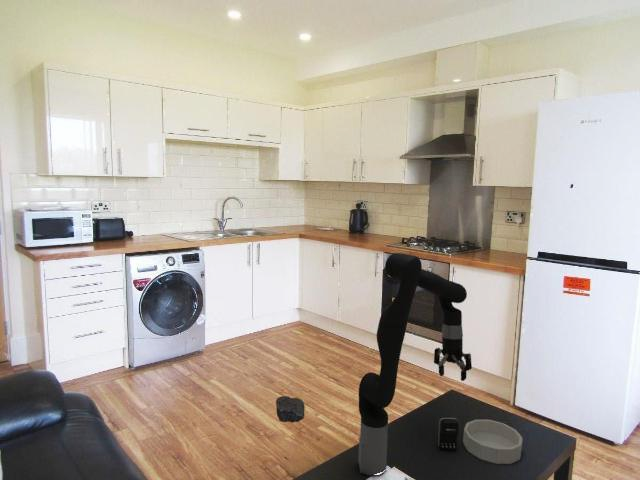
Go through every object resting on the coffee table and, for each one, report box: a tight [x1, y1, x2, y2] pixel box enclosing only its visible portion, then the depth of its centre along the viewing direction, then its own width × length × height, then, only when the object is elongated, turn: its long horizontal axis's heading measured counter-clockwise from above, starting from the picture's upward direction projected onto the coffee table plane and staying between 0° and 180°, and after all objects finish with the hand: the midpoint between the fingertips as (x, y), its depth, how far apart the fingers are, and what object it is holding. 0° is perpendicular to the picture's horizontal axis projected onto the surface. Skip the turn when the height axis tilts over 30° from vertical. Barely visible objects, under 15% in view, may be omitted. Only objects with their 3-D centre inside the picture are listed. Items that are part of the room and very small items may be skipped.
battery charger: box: [437, 417, 460, 451], centre depth 165 cm, size 7×4×11 cm, turn 89°
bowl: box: [462, 419, 523, 465], centre depth 167 cm, size 20×20×6 cm
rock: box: [275, 395, 306, 423], centre depth 187 cm, size 13×6×15 cm
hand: (452, 377), depth 170 cm, fingers open, 8 cm apart
